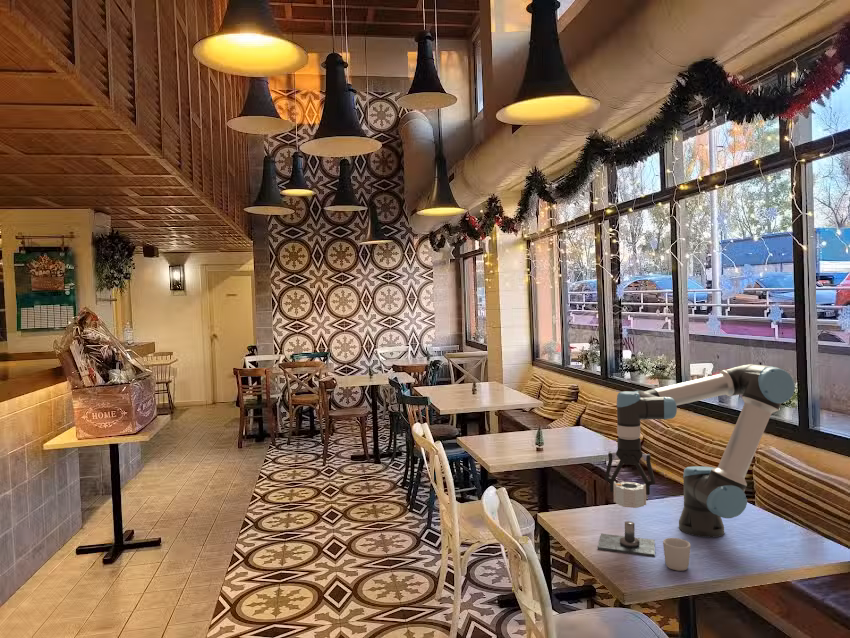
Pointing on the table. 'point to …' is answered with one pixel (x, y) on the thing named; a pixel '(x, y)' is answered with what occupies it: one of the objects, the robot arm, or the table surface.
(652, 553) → the plate with peg
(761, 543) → the table surface
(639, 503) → the ring
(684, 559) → the cup
